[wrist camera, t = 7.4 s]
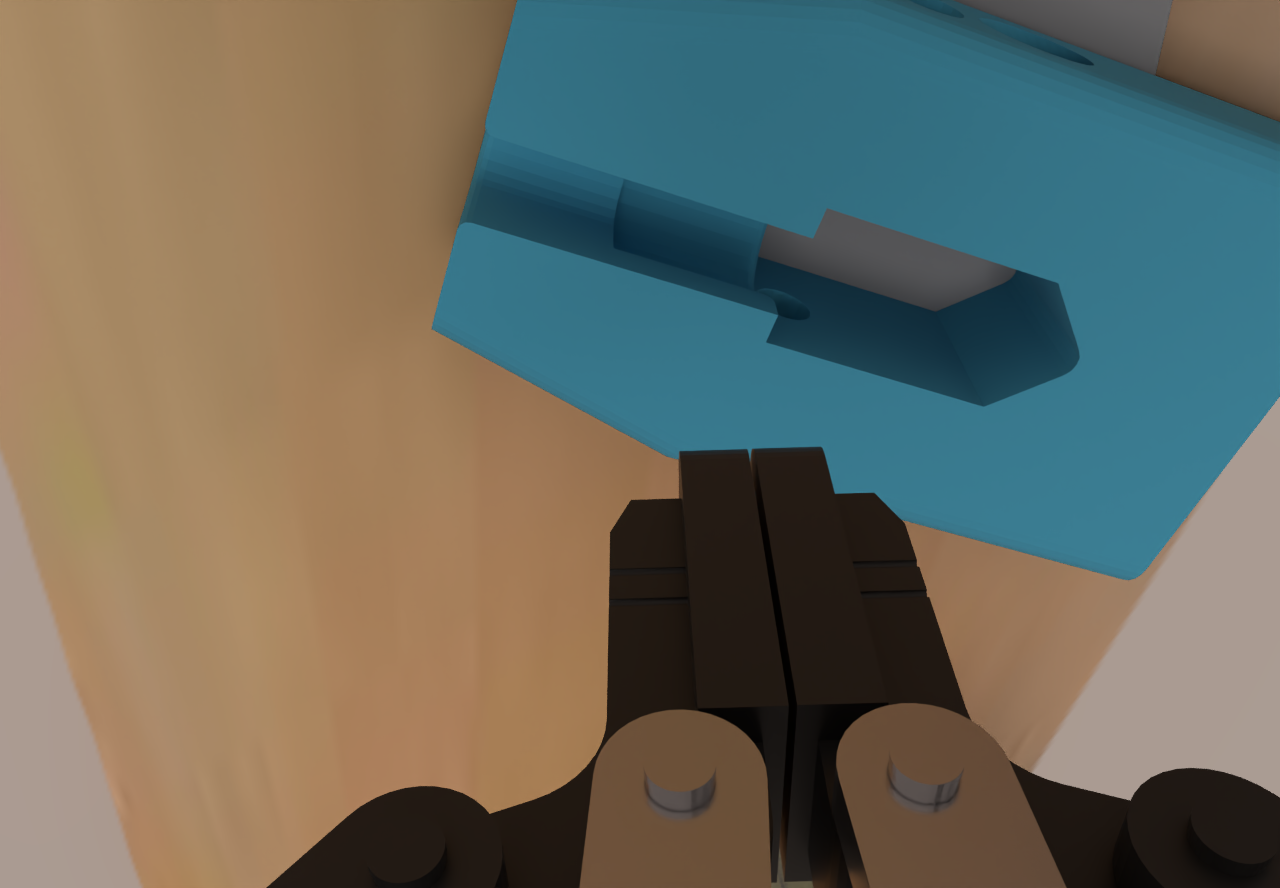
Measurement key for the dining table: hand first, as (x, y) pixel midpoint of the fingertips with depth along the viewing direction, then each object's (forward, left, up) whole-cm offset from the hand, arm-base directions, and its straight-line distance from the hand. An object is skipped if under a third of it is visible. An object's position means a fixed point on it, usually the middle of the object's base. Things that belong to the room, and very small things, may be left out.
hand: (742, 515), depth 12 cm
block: (+1, -5, -16) cm, 17 cm away
